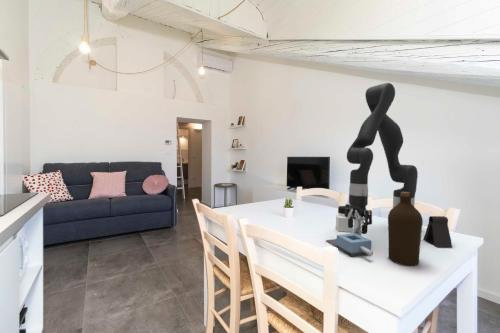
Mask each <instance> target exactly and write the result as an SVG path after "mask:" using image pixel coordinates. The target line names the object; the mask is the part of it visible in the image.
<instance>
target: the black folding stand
mask: <svg viewBox="0 0 500 333" xmlns="http://www.w3.org/2000/svg"><path fill="white" fill-rule="evenodd" d="M448 223H449V218H448V217H447V216H443V215H441V216H439V215H437V216H434V215H433V216H432V215H430V216H429V217H428V224H427V227H426V230H425V232H424V235H423V236H424V237H423V238H422V239H423V241H424V242H425V243H427V244H430V245H431V246H434V247H435V248H436V249H439V248H440V249H447V248H448V249H453V243H452V239H451V234H450V229H449V224H448Z"/></svg>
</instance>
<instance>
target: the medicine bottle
mask: <svg viewBox="0 0 500 333" xmlns="http://www.w3.org/2000/svg"><path fill="white" fill-rule="evenodd" d="M337 208H338V210H337V213H336V214H335V227H336V230H337V232H347V233H348V232H349V233H354V227H353V228H348V219H347V217H345V205H339V206H338V207H337ZM347 214H348V212H347Z"/></svg>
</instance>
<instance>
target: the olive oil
mask: <svg viewBox="0 0 500 333" xmlns="http://www.w3.org/2000/svg"><path fill="white" fill-rule="evenodd" d="M387 216H388V217H387V230H388V231H387V232H388V234H387V235H388V236H387V237H388V239H387V240H388V259H389V260H390V261H391V262H393V263H395V264H397V265H398V264H399V265H402V266H407V267H408V266H409V267H415V266H418V265H419V264H420V251H421V242H422V234H423V233H422V232H423V223H424V222H423V221H424V220H423V216H422V214H421V213H420V211H419V210H418V209H417V208H416V207H415V205H414V206H413V205H412V204H411V193H410V192H401V196H400V203H399V204H397V205H396V206H395V207H394V208H393V207H392V208H391V210H390V211H389V212H388V215H387Z"/></svg>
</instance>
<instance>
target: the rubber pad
mask: <svg viewBox="0 0 500 333" xmlns="http://www.w3.org/2000/svg"><path fill="white" fill-rule="evenodd" d="M326 243H328V244H330V245H332V246H333V245H334V247H335V248H336V247H337V238H333V239H326Z"/></svg>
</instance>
